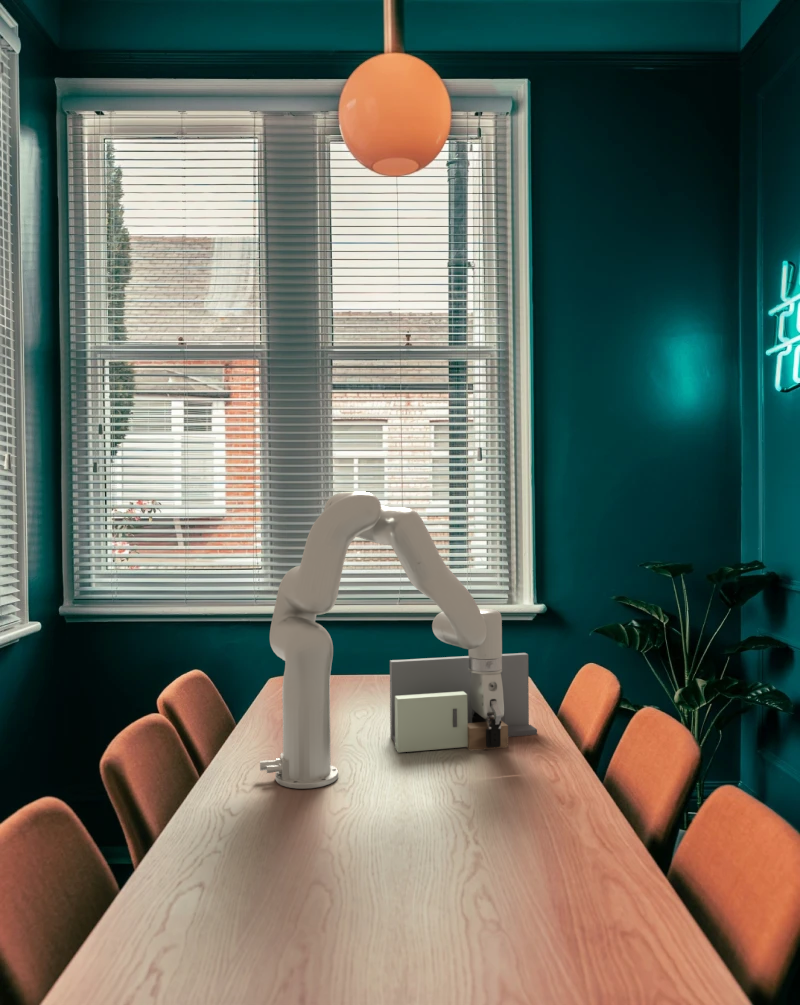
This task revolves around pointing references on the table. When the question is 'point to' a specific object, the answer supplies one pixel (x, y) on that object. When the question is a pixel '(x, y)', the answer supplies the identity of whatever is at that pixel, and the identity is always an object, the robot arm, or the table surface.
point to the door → (431, 721)
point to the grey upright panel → (464, 686)
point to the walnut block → (484, 736)
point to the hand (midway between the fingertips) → (485, 740)
